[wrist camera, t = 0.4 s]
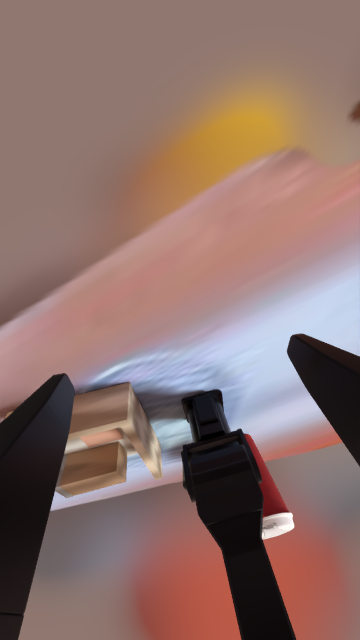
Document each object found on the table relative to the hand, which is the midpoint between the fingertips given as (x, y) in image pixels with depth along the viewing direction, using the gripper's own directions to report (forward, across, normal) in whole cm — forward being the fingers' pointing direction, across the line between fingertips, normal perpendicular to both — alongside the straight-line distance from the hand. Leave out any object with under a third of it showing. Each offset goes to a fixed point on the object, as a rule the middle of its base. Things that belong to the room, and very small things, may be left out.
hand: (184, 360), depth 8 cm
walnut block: (+14, +16, +33) cm, 39 cm away
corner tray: (+14, +14, +27) cm, 34 cm away
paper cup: (+15, -11, +40) cm, 45 cm away
